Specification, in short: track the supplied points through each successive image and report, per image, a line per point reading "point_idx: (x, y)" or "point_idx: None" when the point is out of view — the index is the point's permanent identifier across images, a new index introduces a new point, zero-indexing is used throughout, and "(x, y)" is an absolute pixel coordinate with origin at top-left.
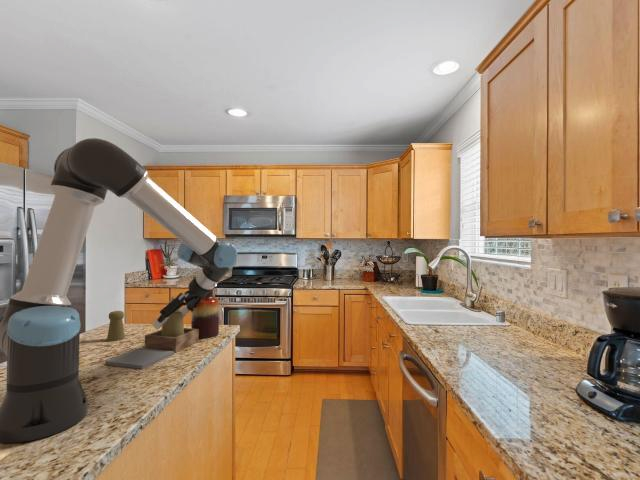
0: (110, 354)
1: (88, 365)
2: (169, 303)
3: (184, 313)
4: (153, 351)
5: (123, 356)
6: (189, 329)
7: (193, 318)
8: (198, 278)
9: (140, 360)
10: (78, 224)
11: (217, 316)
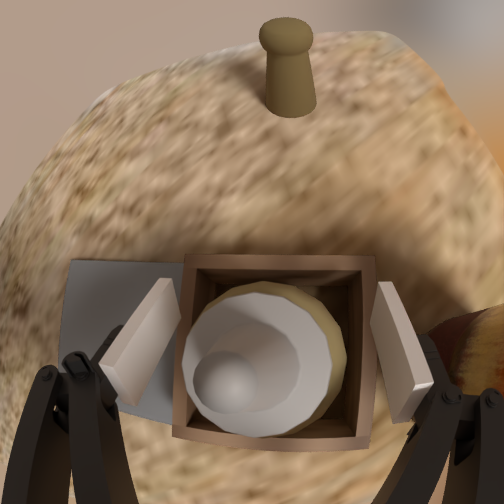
0: (145, 204)
1: (73, 228)
2: (14, 448)
3: (389, 378)
4: None
5: (101, 279)
6: (359, 402)
7: (458, 361)
8: None
9: None
10: None
11: None
